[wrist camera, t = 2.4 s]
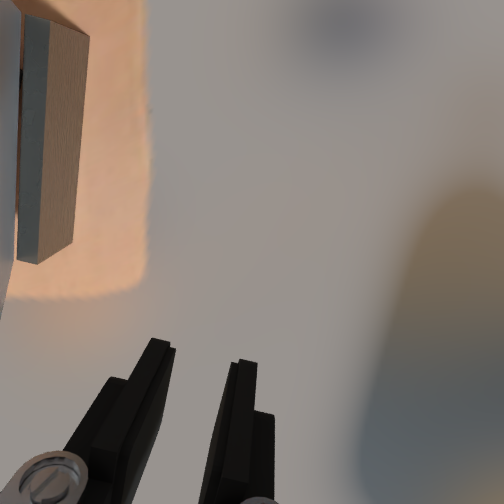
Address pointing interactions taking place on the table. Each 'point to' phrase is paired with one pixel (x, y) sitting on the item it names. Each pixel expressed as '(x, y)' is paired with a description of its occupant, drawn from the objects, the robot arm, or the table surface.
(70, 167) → the long flat gray bar
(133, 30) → the table surface
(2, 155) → the cover
